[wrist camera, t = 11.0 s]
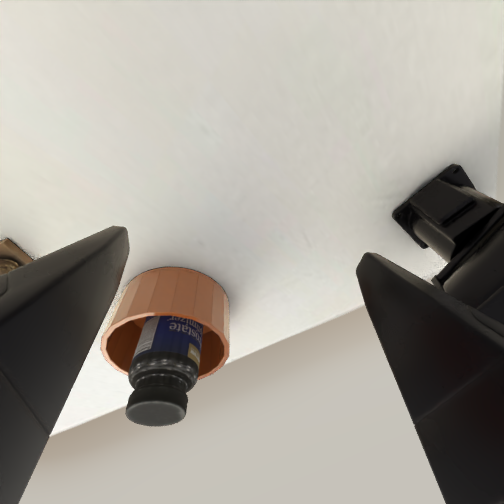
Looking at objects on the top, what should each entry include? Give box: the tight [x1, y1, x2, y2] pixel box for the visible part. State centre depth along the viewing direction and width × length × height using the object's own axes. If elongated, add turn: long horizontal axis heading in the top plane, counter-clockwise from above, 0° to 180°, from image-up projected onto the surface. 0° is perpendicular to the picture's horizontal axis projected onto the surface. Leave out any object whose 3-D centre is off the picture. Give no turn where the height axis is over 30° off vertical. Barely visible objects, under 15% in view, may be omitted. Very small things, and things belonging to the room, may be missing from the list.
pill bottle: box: [126, 316, 203, 426], centre depth 25 cm, size 6×6×11 cm
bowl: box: [101, 267, 229, 380], centre depth 27 cm, size 12×12×6 cm
